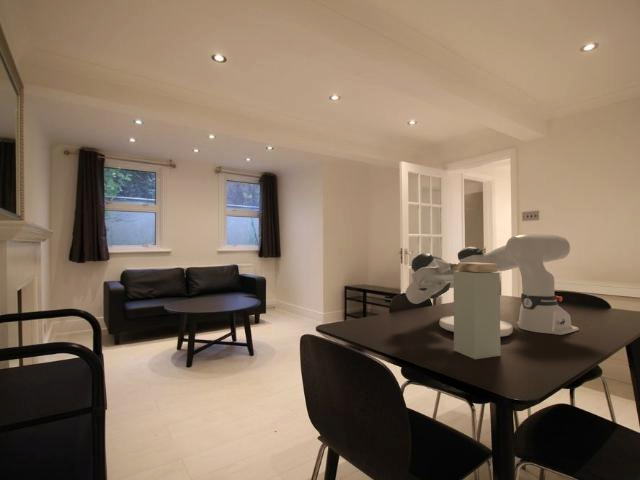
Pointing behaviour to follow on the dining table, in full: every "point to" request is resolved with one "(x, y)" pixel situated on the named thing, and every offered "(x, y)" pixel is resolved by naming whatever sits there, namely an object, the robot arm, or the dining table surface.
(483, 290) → the shelf block
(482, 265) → the wooden paddle
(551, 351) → the dining table surface
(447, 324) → the plate
